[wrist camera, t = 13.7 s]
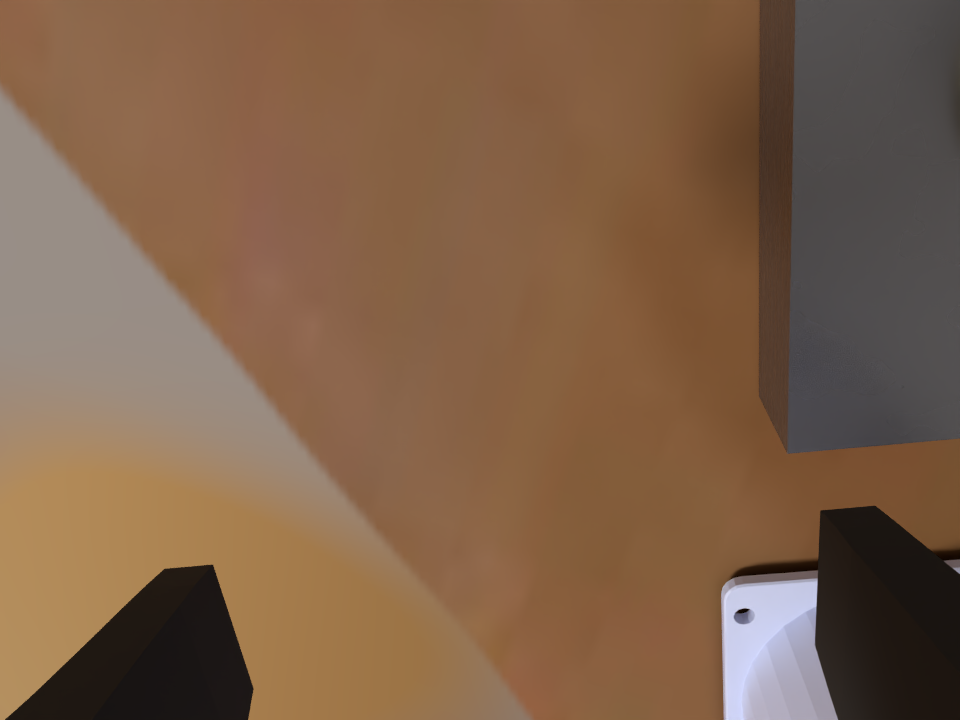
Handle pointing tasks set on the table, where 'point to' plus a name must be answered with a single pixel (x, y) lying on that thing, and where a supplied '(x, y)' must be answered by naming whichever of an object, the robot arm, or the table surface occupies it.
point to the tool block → (859, 221)
